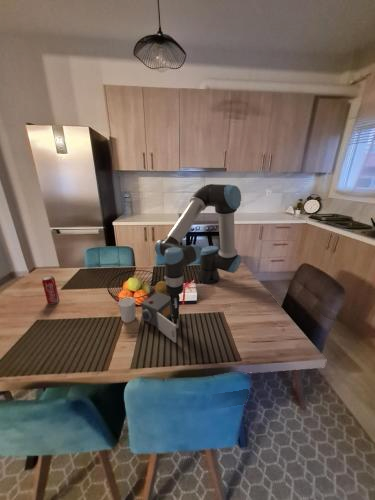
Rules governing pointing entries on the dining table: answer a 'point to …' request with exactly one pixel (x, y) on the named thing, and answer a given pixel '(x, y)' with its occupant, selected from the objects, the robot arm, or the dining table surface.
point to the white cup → (127, 309)
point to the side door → (166, 327)
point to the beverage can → (50, 289)
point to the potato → (161, 287)
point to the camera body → (156, 308)
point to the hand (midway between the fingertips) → (175, 327)
